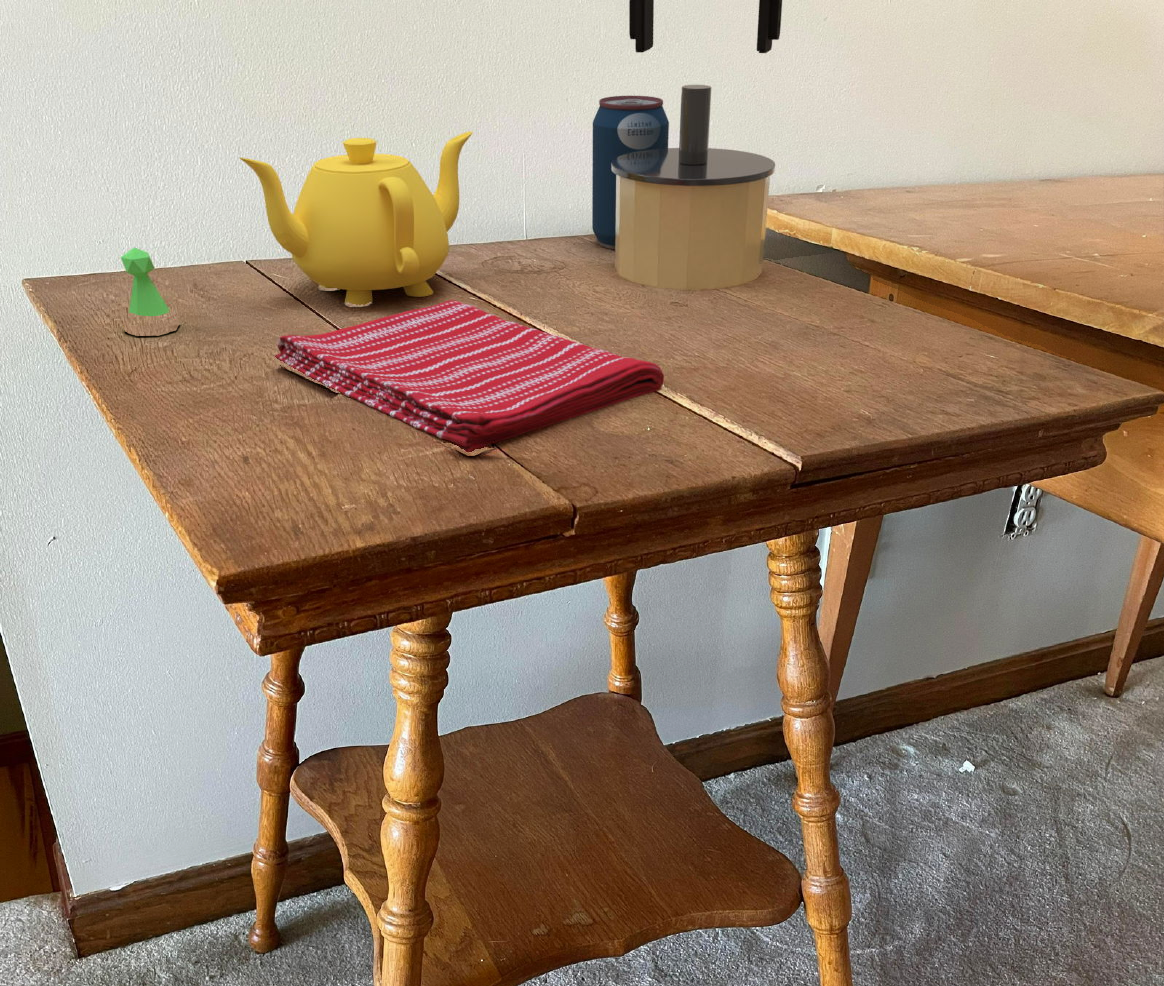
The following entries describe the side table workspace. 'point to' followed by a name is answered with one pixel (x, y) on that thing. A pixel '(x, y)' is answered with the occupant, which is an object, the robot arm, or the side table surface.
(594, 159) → the soda can
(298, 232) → the teapot
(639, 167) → the lid
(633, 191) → the pot
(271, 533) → the side table surface
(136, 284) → the game piece
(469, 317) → the dish towel
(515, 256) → the side table surface
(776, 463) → the side table surface
